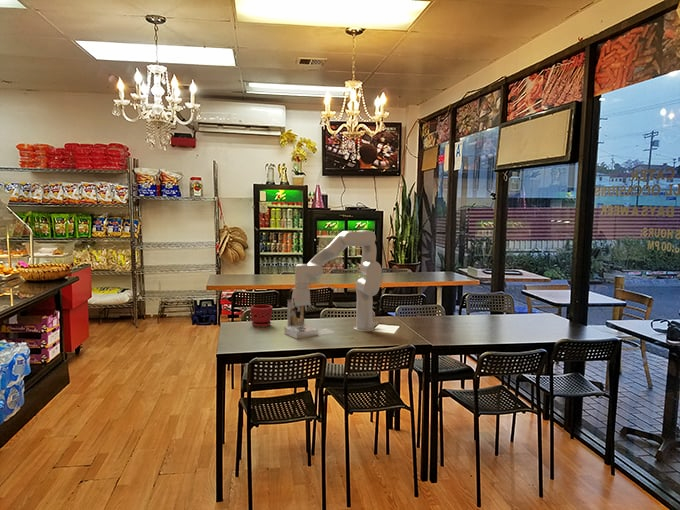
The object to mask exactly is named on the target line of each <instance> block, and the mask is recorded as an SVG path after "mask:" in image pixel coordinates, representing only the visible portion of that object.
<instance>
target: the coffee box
mask: <svg viewBox="0 0 680 510" xmlns="http://www.w3.org/2000/svg"><path fill="white" fill-rule="evenodd" d="M291 304H292V299H287V327H290V326H296V325H303V324H305V318H304V317H303V323H298V318H296V311H295V309H294V308H292V307H291ZM294 306H295V305H294Z"/></svg>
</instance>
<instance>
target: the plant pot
mask: <svg viewBox="0 0 680 510" xmlns="http://www.w3.org/2000/svg"><path fill="white" fill-rule="evenodd" d="M272 316H273V306H272V305H269V304H254V305H250V317H251V320H252V321H251V324H252V326H254V327H256V328H265V327H268V326H270V325H271V324H272V322H271V319H272Z"/></svg>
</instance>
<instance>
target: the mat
mask: <svg viewBox="0 0 680 510" xmlns="http://www.w3.org/2000/svg"><path fill="white" fill-rule="evenodd" d="M333 333H336V331H333V330H331V329H329V328H327V327H326V328H321V329H318V335H321V336H322V335H323V336H325V335H329V334H333Z"/></svg>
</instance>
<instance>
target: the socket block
mask: <svg viewBox="0 0 680 510" xmlns="http://www.w3.org/2000/svg"><path fill="white" fill-rule="evenodd" d="M318 330H319V329H318V328H315V327H313V326H311V325H308V324H305V323H304V324H303V325H296V326H290V327H289V326H285V327H284V333H283V334H285V335H287V336H289V337H291V338H293V339H296V340H299V339H303V338H309V337H315V336H318V335H319V333H318Z"/></svg>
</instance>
